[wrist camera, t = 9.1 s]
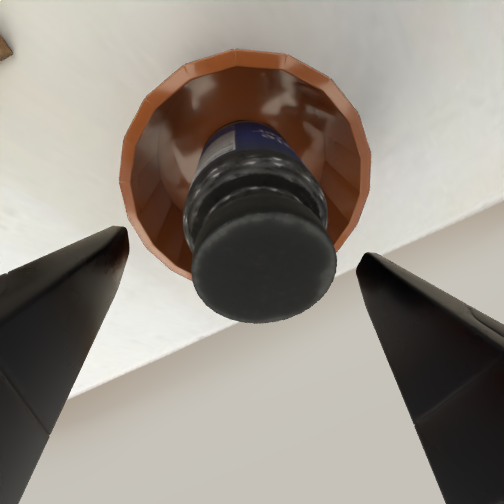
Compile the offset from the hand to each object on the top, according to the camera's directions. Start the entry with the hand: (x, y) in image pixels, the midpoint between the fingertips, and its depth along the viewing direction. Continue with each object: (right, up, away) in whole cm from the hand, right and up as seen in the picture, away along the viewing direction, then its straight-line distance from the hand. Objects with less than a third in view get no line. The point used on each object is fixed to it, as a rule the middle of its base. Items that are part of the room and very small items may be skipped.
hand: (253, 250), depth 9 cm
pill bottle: (-1, +6, +8) cm, 10 cm away
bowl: (-1, +6, +8) cm, 10 cm away
